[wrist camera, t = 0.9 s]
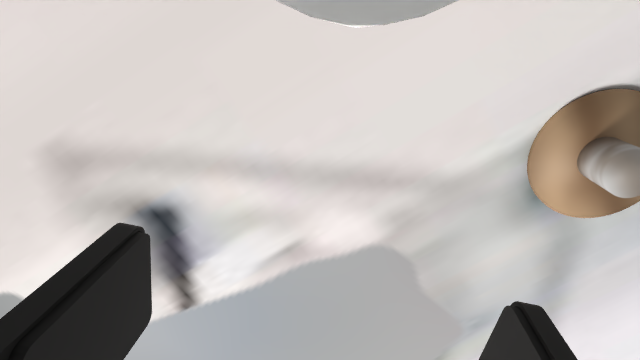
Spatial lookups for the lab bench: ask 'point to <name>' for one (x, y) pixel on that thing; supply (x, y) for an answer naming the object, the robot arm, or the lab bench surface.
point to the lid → (589, 155)
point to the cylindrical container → (365, 10)
